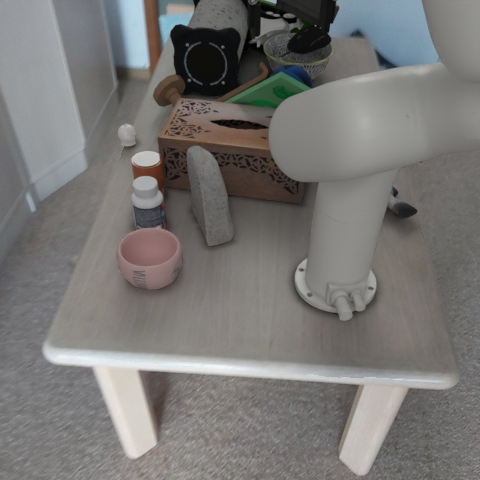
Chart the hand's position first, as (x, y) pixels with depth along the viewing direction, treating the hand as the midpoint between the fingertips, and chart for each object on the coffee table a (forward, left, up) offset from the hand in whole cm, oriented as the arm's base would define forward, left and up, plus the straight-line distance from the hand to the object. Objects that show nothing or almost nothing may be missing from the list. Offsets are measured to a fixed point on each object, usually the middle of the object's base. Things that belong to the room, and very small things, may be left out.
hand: (289, 30), depth 77 cm
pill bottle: (-2, +22, -30) cm, 38 cm away
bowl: (+48, -14, -30) cm, 59 cm away
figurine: (+53, -8, -19) cm, 57 cm away
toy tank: (+65, -9, -26) cm, 71 cm away
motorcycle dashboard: (+63, -11, -19) cm, 67 cm away
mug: (-13, +22, -30) cm, 40 cm away
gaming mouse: (+48, -16, -23) cm, 55 cm away
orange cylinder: (+7, +22, -30) cm, 38 cm away
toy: (+20, -5, -23) cm, 31 cm away
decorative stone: (-3, +12, -30) cm, 33 cm away
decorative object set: (+26, +17, -30) cm, 43 cm away
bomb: (+29, -9, -23) cm, 38 cm away
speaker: (+55, +4, -30) cm, 63 cm away
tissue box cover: (+12, +5, -30) cm, 33 cm away
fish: (+6, -20, -29) cm, 36 cm away
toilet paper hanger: (+37, +6, -22) cm, 43 cm away
